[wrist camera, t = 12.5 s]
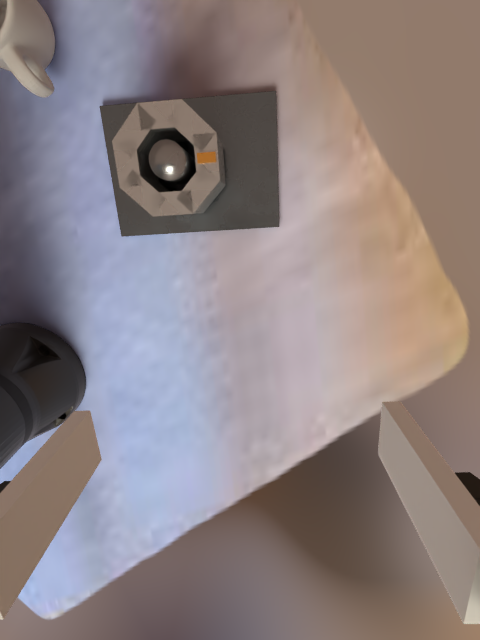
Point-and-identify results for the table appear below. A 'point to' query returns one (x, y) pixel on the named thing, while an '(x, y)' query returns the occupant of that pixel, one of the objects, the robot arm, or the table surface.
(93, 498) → the table surface
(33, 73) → the cup
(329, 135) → the table surface
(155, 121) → the ring
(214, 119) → the plate with peg
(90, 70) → the table surface
